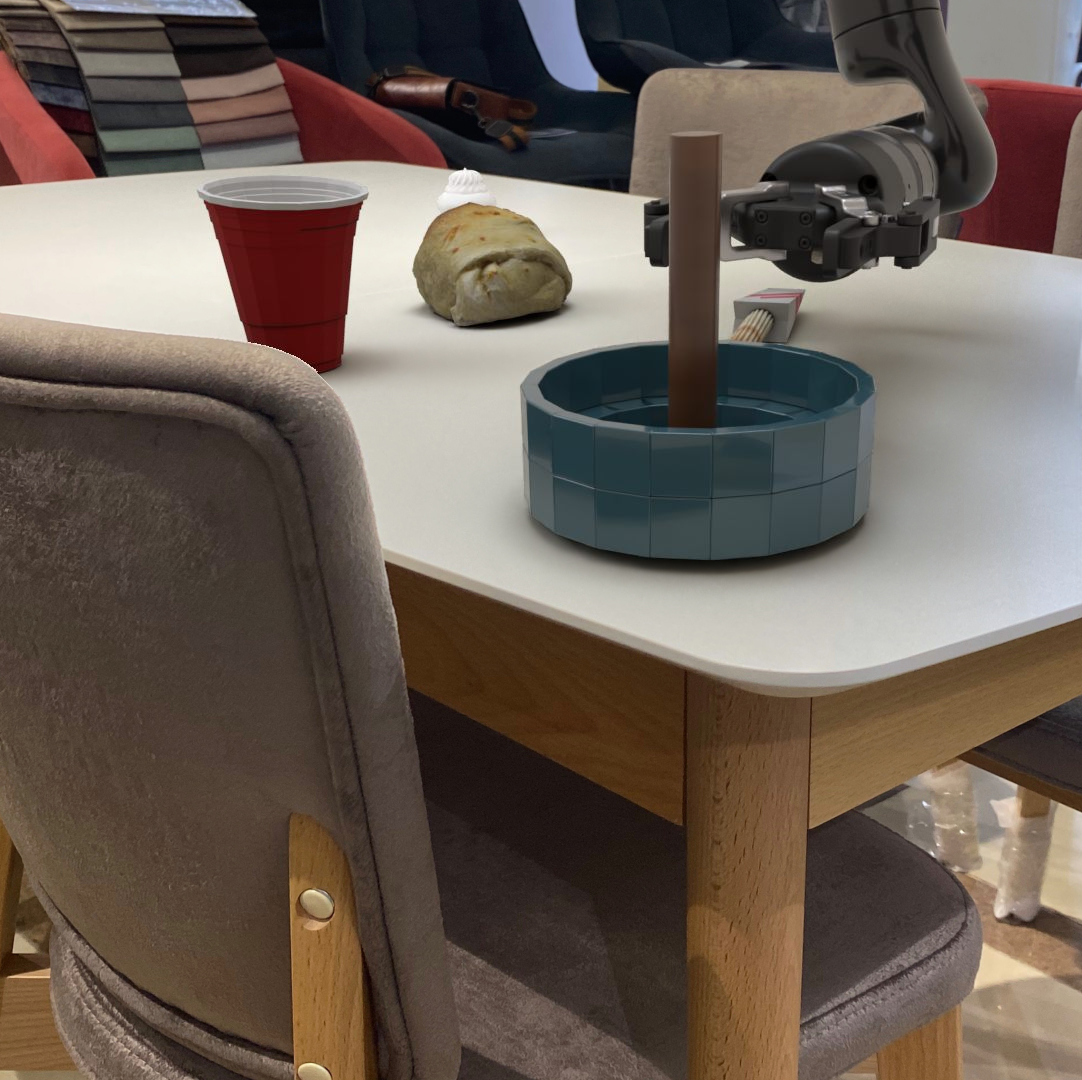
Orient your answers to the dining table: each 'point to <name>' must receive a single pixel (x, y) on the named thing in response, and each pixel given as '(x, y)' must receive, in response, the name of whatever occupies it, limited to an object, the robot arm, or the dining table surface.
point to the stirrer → (694, 277)
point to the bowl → (698, 452)
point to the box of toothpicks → (766, 315)
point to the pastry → (489, 266)
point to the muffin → (465, 191)
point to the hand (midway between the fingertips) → (740, 250)
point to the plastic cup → (288, 258)
